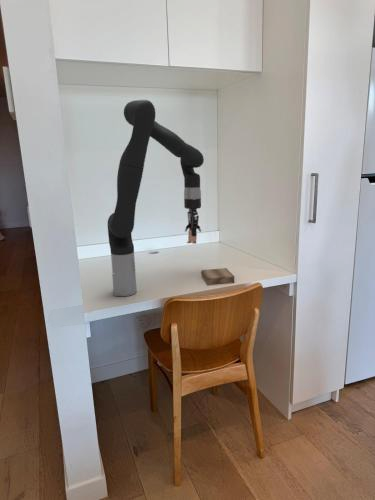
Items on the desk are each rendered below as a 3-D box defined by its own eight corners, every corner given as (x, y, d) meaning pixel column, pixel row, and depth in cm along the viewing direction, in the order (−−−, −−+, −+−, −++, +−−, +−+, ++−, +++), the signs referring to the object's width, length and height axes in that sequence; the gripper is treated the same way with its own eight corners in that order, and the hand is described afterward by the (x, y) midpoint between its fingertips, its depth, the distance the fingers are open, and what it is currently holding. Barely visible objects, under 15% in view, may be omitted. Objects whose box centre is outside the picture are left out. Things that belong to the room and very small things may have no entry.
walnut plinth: (207, 285, 149) (207, 278, 148) (201, 276, 160) (201, 270, 159) (234, 282, 151) (234, 276, 150) (226, 274, 162) (226, 268, 161)
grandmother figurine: (184, 243, 157) (183, 216, 154) (185, 241, 161) (184, 215, 158) (201, 243, 157) (201, 216, 154) (201, 241, 161) (201, 214, 157)
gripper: (181, 196, 160) (182, 232, 164) (187, 199, 147) (188, 238, 151) (197, 195, 161) (197, 231, 166) (204, 198, 148) (204, 237, 152)
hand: (193, 234), depth 158 cm, fingers closed on grandmother figurine, 3 cm apart
